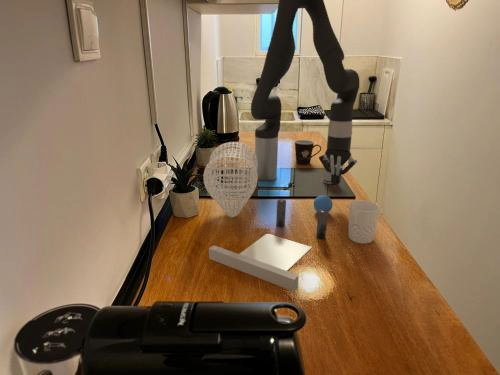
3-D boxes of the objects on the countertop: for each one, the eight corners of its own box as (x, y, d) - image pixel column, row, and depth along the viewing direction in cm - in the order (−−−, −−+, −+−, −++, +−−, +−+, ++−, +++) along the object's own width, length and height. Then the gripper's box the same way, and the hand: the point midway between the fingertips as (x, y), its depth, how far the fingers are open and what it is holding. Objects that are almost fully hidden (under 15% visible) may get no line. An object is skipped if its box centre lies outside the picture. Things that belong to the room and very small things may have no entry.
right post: (314, 237, 107) (316, 211, 104) (318, 234, 109) (320, 208, 106) (323, 240, 105) (325, 214, 103) (326, 236, 107) (329, 211, 105)
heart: (213, 199, 133) (211, 137, 125) (256, 200, 133) (258, 138, 125) (202, 236, 107) (199, 161, 99) (256, 237, 107) (258, 162, 99)
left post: (274, 226, 114) (275, 201, 111) (278, 223, 116) (279, 198, 113) (282, 228, 112) (283, 203, 109) (286, 225, 114) (287, 200, 111)
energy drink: (336, 184, 149) (339, 155, 145) (322, 183, 150) (324, 154, 146) (336, 180, 154) (338, 151, 149) (322, 179, 155) (325, 150, 150)
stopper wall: (209, 258, 96) (208, 248, 95) (214, 255, 97) (213, 245, 96) (293, 291, 83) (294, 279, 82) (297, 286, 85) (298, 275, 84)
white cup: (375, 234, 109) (379, 202, 106) (374, 247, 102) (379, 213, 99) (347, 230, 112) (351, 198, 108) (344, 242, 105) (348, 209, 101)
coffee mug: (291, 164, 174) (292, 143, 170) (296, 159, 181) (297, 139, 178) (316, 167, 170) (318, 145, 166) (320, 162, 177) (322, 141, 174)
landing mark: (239, 254, 98) (239, 253, 98) (267, 234, 109) (267, 233, 109) (286, 271, 90) (286, 271, 90) (311, 247, 101) (311, 247, 101)
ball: (309, 213, 122) (311, 196, 120) (317, 207, 127) (318, 191, 125) (327, 218, 119) (328, 200, 117) (334, 211, 124) (336, 194, 122)
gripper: (315, 133, 122) (312, 184, 128) (355, 138, 115) (350, 191, 121) (325, 130, 128) (321, 178, 134) (363, 134, 121) (358, 185, 127)
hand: (335, 184), depth 128 cm, fingers closed
